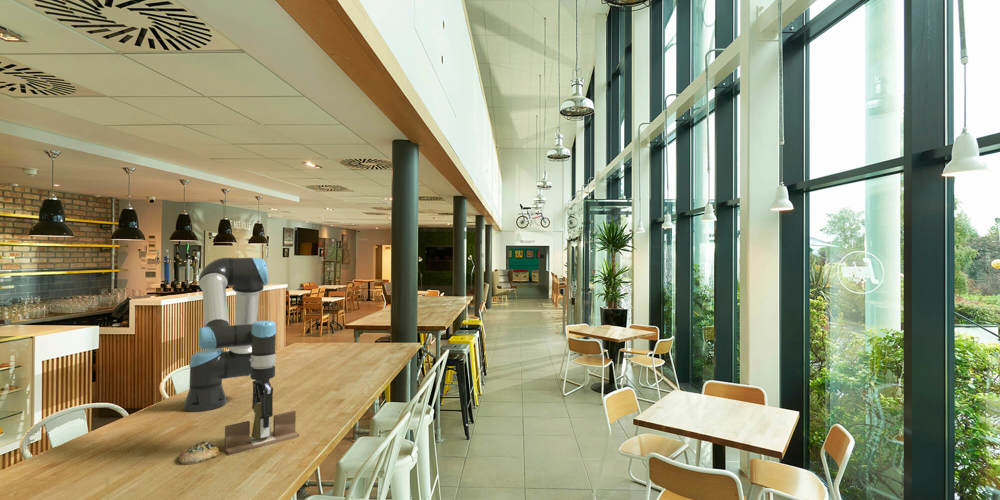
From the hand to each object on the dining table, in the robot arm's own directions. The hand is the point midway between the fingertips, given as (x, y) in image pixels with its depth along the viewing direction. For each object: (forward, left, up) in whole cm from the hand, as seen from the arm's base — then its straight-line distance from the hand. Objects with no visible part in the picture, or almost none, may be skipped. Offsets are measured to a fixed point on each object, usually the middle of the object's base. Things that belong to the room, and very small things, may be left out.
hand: (261, 433), depth 155 cm
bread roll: (0, -18, -3) cm, 18 cm away
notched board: (0, 0, -3) cm, 3 cm away
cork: (0, 0, 0) cm, 0 cm away
